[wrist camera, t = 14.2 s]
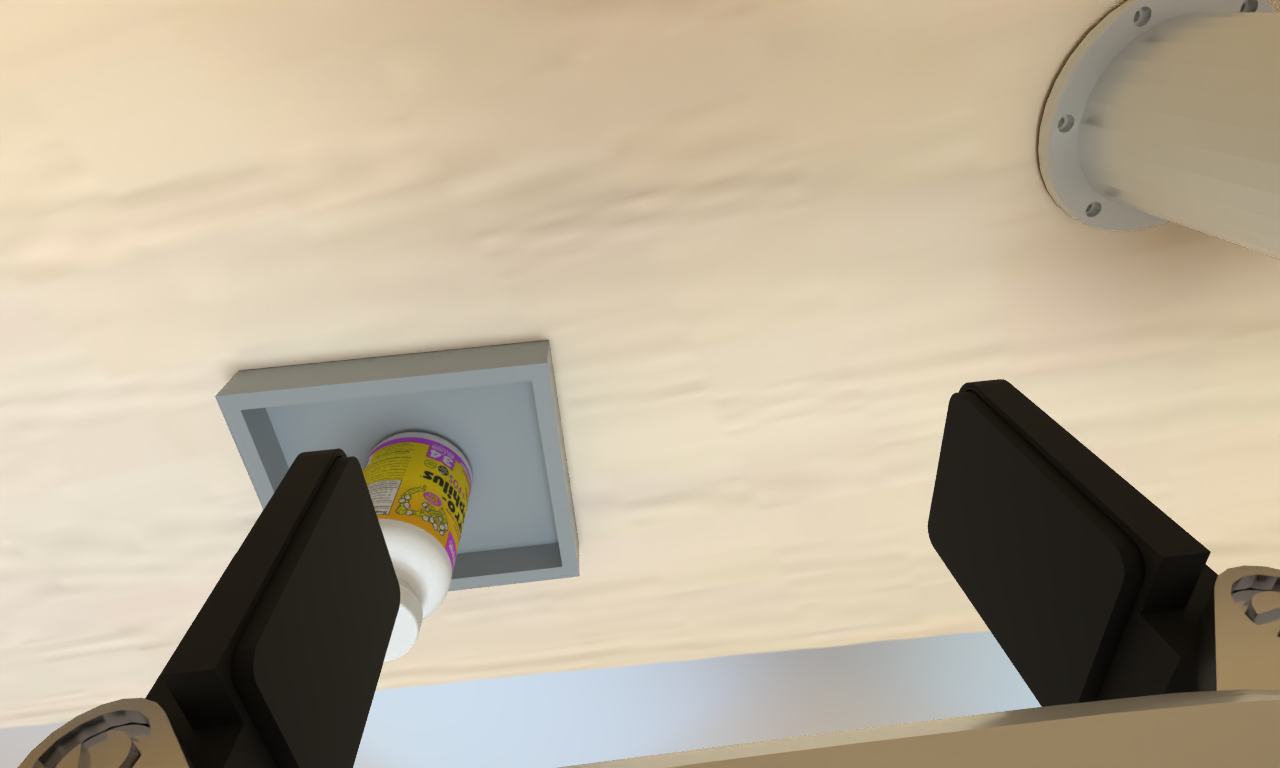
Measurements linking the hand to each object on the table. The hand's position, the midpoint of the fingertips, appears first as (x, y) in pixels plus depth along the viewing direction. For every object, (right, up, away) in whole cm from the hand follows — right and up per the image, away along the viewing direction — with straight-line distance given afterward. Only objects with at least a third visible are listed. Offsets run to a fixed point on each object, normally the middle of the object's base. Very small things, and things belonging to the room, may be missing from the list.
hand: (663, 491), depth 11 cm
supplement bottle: (-14, -4, +32) cm, 36 cm away
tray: (-14, -4, +33) cm, 36 cm away
